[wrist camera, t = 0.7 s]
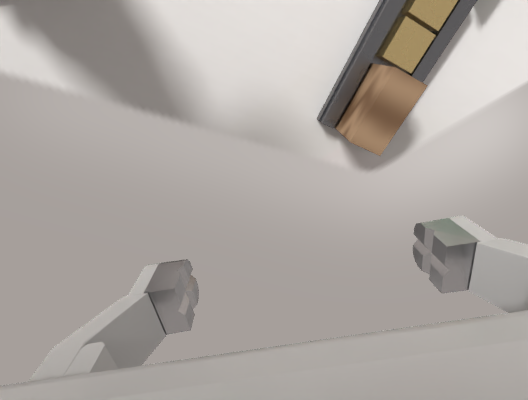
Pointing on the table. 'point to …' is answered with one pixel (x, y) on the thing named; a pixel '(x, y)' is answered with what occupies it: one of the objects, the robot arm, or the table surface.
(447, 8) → the brass chip
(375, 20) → the slot bed
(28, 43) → the table surface
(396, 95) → the brown wooden block
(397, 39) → the brass chip
